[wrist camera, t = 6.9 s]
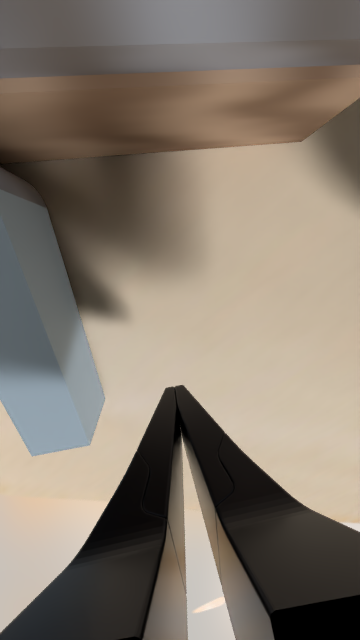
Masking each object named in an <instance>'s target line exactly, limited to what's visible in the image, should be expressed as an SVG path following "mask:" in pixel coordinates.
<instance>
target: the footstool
mask: <svg viewBox="0 0 360 640" xmlns="http://www.w3.org/2000/svg"><path fill="white" fill-rule="evenodd" d="M359 98H360V0H0V164H5V163H19V162H32V161H46V160H59V159H73V158H86V157H100V156H113V155H127V154H140V153H154V152H167V151H181V150H194V149H208V148H221V147H235V146H248V145H262V144H275V143H289V142H302V141H303V140H304V139H306V138H307V137H308V136H310V135H311V134H312V133H314V132H315V131H316V130H318V129H319V128H320V127H322V126H323V125H324V124H326V123H327V122H328V121H330V120H331V119H332V118H334V117H335V116H336V115H338V114H339V113H340V112H342V111H343V110H344V109H346V108H347V107H348V106H350V105H351V104H352V103H354V102H355V101H356V100H358V99H359Z"/></svg>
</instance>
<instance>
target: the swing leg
mask: <svg viewBox="0 0 360 640" xmlns="http://www.w3.org/2000/svg"><path fill="white" fill-rule="evenodd" d="M0 400H1V402H2V404H3V405H4V407H5V409H6V411H7V413H8V414H9V416H10V418H11V420H12V422H13V423H14V425H15V427H16V429H17V431H18V432H19V434H20V436H21V438H22V439H23V441H24V443H25V445H26V447H27V448H28V450H29V452H30V454H31V456H36V455H41V454H47V453H52V452H57V451H62V450H67V449H73V448H78V447H83V446H88V445H90V443H91V440H92V437H93V434H94V431H95V428H96V425H97V422H98V419H99V416H100V413H101V410H102V407H103V404H104V401H105V396H104V393H103V389H102V386H101V383H100V380H99V376H98V373H97V370H96V367H95V363H94V360H93V357H92V353H91V350H90V347H89V344H88V340H87V337H86V334H85V331H84V327H83V324H82V321H81V318H80V314H79V311H78V308H77V305H76V301H75V298H74V295H73V292H72V288H71V285H70V282H69V279H68V275H67V272H66V269H65V266H64V262H63V259H62V256H61V253H60V249H59V246H58V243H57V240H56V236H55V233H54V230H53V227H52V223H51V220H50V217H49V214H48V210H47V207H46V205H45V202H44V200H43V199H42V197H41V195H40V194H39V193H38V192H37V190H36V189H35V188H34V187H33V186H31V185H30V184H29V183H28V182H26V181H25V180H23V179H21V178H19V177H17V176H16V175H14V174H12V173H10V172H8V171H7V170H5V169H3V168H1V167H0Z"/></svg>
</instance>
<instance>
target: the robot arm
mask: <svg viewBox="0 0 360 640" xmlns="http://www.w3.org/2000/svg"><path fill="white" fill-rule="evenodd" d="M180 427H181V428H180ZM181 433H182V435H181ZM182 438H183V443H184V446H185V450H186V454H187V458H188V461H189V465H190V469H191V473H192V476H193V480H194V484H195V488H196V492H197V495H198V499H199V503H200V507H201V510H202V514H203V518H204V522H205V525H206V529H207V533H208V537H209V540H210V544H211V548H212V551H213V556H214V559H215V563H216V566H217V570H218V574H219V578H220V582H221V585H222V589H223V593H224V597H225V601H226V604H227V608H228V612H229V616H230V620H231V623H232V627H233V631H234V635H235V638H236V640H360V532H358V531H356V530H354V529H352V528H350V527H347V526H345V525H343V524H341V523H339V522H337V521H335V520H332V519H330V518H328V517H326V516H324V515H322V514H319V513H317V512H315V511H313V510H311V509H309V508H308V507H306V506H304V505H303V504H302V503H300V502H299V501H297V500H296V499H295V498H293V497H292V496H291V495H290V494H289V493H287V492H286V491H285V490H284V489H283V488H282V487H281V486H280V485H279V484H277V483H276V482H275V481H274V480H273V479H272V478H271V477H270V476H269V475H268V474H266V473H265V472H264V471H263V470H262V469H261V468H260V467H259V466H258V465H257V464H255V463H254V462H253V461H252V460H251V459H250V458H249V457H248V456H247V455H246V454H245V453H244V452H243V451H242V450H241V449H240V448H239V447H238V446H237V445H236V444H235V443H234V442H233V441H232V440H231V438H230V437H229V436H228V435H227V434H226V433H225V432H224V431H223V430H222V428H221V427H220V426H219V425H218V424H217V423H216V422H215V420H214V419H213V418H212V417H211V416H210V415H209V414H208V413H207V411H206V410H205V409H204V408H203V407H202V406H201V405H200V404H199V402H198V401H197V400H196V399H195V398H194V397H193V396H192V394H191V393H190V392H189V391H188V390H187V389H186V388H185V387H184V386H183V385H179V386H175V388H174V387H168V388H166V389H165V391H164V393H163V395H162V397H161V399H160V401H159V404H158V406H157V408H156V410H155V412H154V414H153V416H152V419H151V421H150V423H149V425H148V427H147V429H146V432H145V434H144V436H143V438H142V440H141V442H140V444H139V447H138V449H137V451H136V453H135V455H134V457H133V459H132V461H131V463H130V465H129V467H128V469H127V471H126V473H125V475H124V477H123V479H122V481H121V482H120V484H119V486H118V488H117V490H116V491H115V493H114V495H113V496H112V498H111V500H110V501H109V503H108V505H107V507H106V508H105V510H104V512H103V513H102V515H101V517H100V519H99V520H98V522H97V524H96V526H95V527H94V529H93V531H92V532H91V534H90V535H89V537H88V539H87V540H86V542H85V544H84V545H83V546H82V548H81V549H80V551H79V552H78V554H77V555H76V556H75V558H74V559H73V560H72V561H71V563H70V564H69V565H68V566H67V567H66V568H65V569H64V570H63V571H62V573H61V574H59V576H57V578H55V579H54V580H53V582H51V583H50V584H49V585H48V586H47V587H46V588H45V589H44V590H43V591H42V592H41V593H40V594H39V595H38V596H37V597H36V598H35V599H34V600H33V601H32V602H31V603H30V604H29V605H28V606H27V607H26V608H25V609H24V610H23V611H22V612H21V613H20V614H19V615H18V616H17V617H16V618H15V619H14V620H13V621H12V622H11V623H10V624H9V625H8V626H7V627H6V628H5V629H4V630H3V631H2V632H1V633H0V640H188V632H187V598H186V564H185V530H184V495H183V460H182Z"/></svg>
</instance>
